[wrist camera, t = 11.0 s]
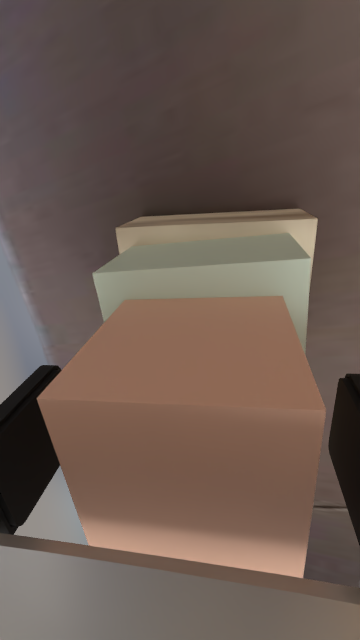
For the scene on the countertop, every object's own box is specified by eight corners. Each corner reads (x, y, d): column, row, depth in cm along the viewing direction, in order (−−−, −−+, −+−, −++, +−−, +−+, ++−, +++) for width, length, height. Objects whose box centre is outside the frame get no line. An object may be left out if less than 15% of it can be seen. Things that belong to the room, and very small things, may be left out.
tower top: (131, 246, 16) (92, 273, 12) (289, 232, 15) (311, 258, 10) (154, 371, 20) (129, 428, 15) (284, 371, 18) (299, 436, 14)
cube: (124, 299, 12) (36, 398, 7) (282, 295, 11) (326, 410, 6) (145, 416, 15) (92, 556, 9) (275, 423, 13) (301, 586, 8)
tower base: (142, 216, 20) (115, 228, 16) (298, 208, 19) (317, 218, 14) (156, 345, 25) (138, 383, 20) (285, 349, 23) (297, 391, 18)
